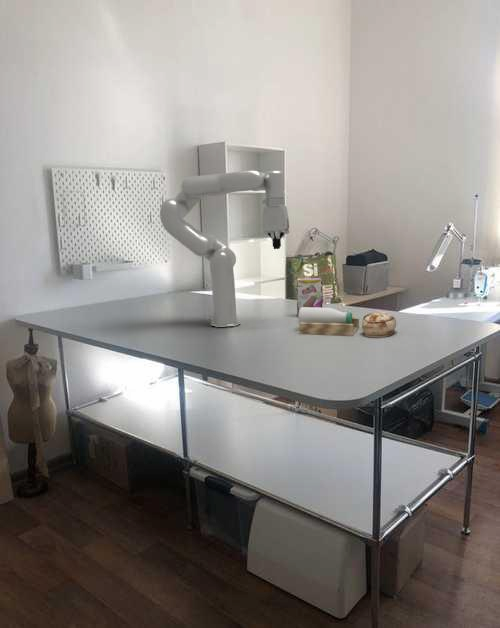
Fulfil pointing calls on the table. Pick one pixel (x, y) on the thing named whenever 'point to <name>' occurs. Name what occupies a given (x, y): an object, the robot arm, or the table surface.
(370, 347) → the table surface
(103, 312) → the table surface
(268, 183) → the robot arm
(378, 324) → the bowl of food
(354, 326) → the brown rectangular tray
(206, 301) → the table surface
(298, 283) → the candy bar box
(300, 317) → the milk bottle
